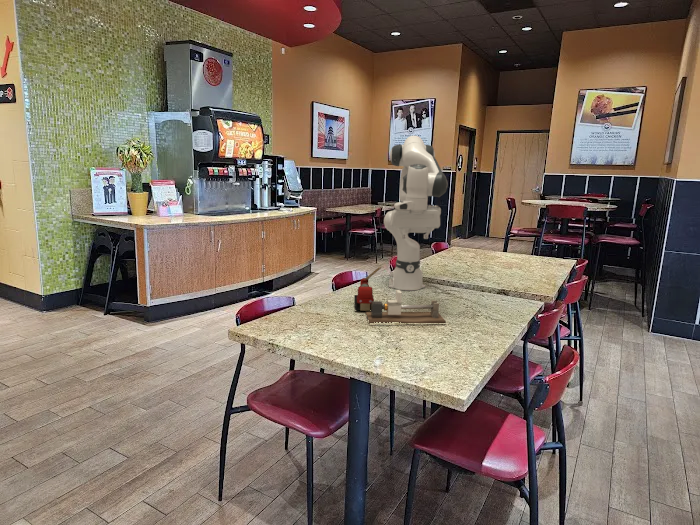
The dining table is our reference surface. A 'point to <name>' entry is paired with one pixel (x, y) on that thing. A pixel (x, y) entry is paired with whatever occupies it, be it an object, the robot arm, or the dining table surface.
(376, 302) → the rod
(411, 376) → the dining table surface
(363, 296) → the toy fire truck
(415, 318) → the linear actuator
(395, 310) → the sleeve
